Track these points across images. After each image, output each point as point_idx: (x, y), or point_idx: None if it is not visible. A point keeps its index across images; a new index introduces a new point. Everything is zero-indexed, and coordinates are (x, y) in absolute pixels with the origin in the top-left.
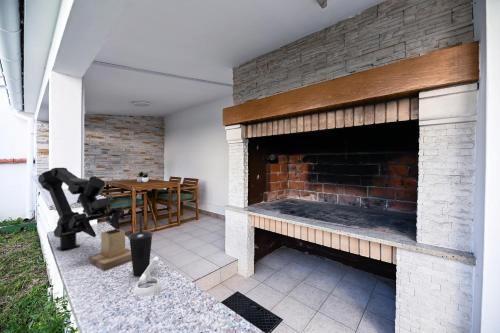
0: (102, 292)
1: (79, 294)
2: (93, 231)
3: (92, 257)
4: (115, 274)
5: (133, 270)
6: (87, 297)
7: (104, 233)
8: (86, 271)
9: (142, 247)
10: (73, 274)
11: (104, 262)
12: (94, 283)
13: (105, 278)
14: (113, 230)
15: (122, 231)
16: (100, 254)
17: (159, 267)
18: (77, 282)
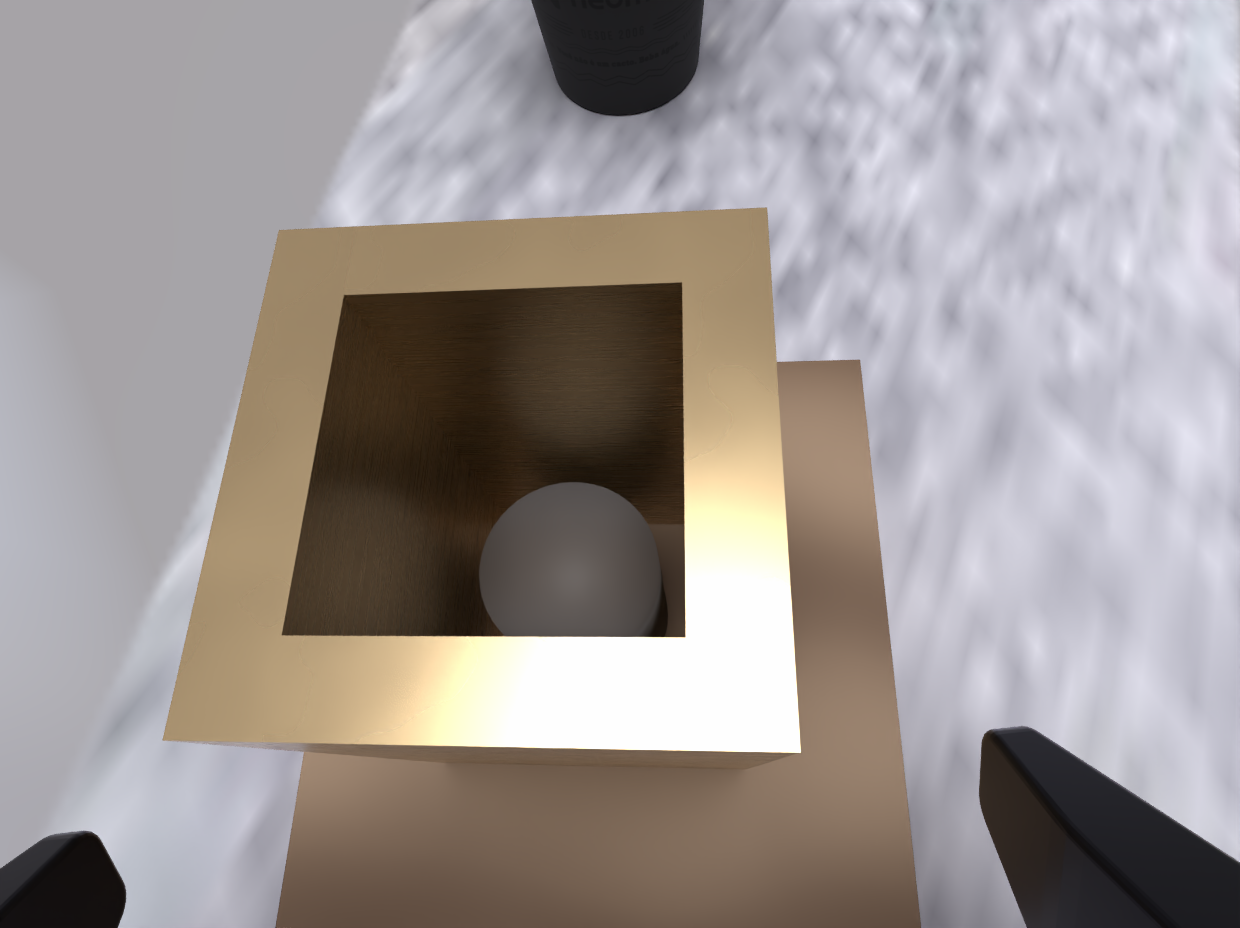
0: (1014, 19)
1: (1183, 122)
2: (1150, 851)
3: (891, 820)
4: (793, 226)
5: (702, 6)
6: (1134, 34)
7: (767, 499)
8: (1010, 600)
9: None
10: (1175, 663)
11: (835, 405)
12: (1021, 210)
13: (902, 224)
14: (371, 642)
15: (347, 232)
16: (735, 840)
17: (452, 41)
18: (1164, 373)
